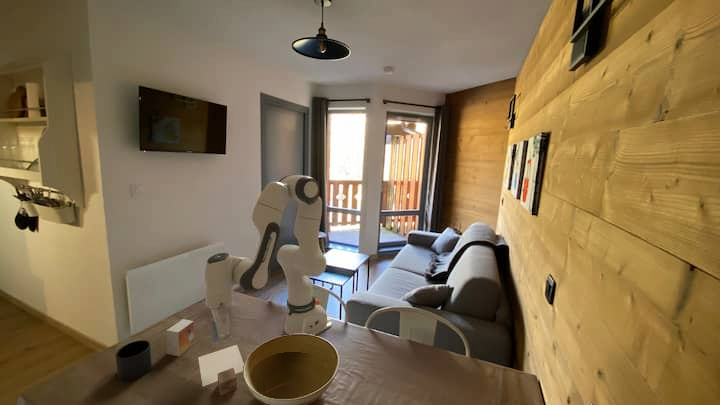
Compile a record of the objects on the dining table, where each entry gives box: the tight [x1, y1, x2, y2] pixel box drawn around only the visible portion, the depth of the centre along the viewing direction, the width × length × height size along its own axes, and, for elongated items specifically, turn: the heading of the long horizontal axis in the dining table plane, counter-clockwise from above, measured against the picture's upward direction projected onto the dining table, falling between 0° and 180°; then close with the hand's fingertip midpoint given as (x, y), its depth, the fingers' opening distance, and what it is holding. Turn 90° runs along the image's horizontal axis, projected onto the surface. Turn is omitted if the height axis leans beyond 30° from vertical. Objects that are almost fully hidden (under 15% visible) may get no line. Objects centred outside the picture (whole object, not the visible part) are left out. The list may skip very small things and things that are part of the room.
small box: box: [165, 318, 196, 357], centre depth 108 cm, size 8×6×10 cm
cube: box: [210, 321, 230, 343], centre depth 100 cm, size 5×5×5 cm
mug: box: [115, 339, 153, 383], centre depth 96 cm, size 9×12×9 cm
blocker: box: [217, 368, 238, 397], centre depth 92 cm, size 5×5×5 cm
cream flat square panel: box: [198, 344, 245, 388], centre depth 102 cm, size 14×16×1 cm
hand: (220, 332), depth 100 cm, fingers closed on cube, 5 cm apart
